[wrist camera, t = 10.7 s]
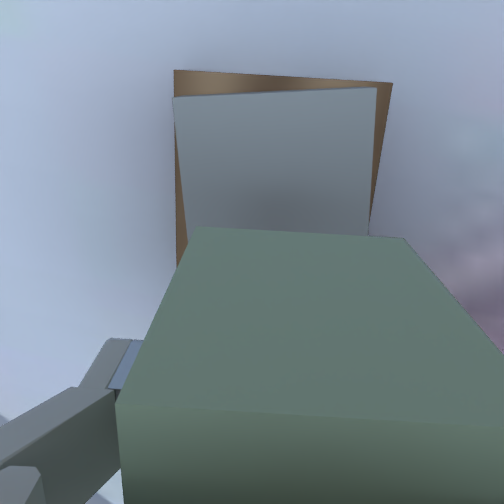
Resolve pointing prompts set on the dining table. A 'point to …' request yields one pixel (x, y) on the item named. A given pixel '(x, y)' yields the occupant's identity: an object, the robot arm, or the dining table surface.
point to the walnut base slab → (257, 83)
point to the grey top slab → (277, 159)
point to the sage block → (310, 380)
